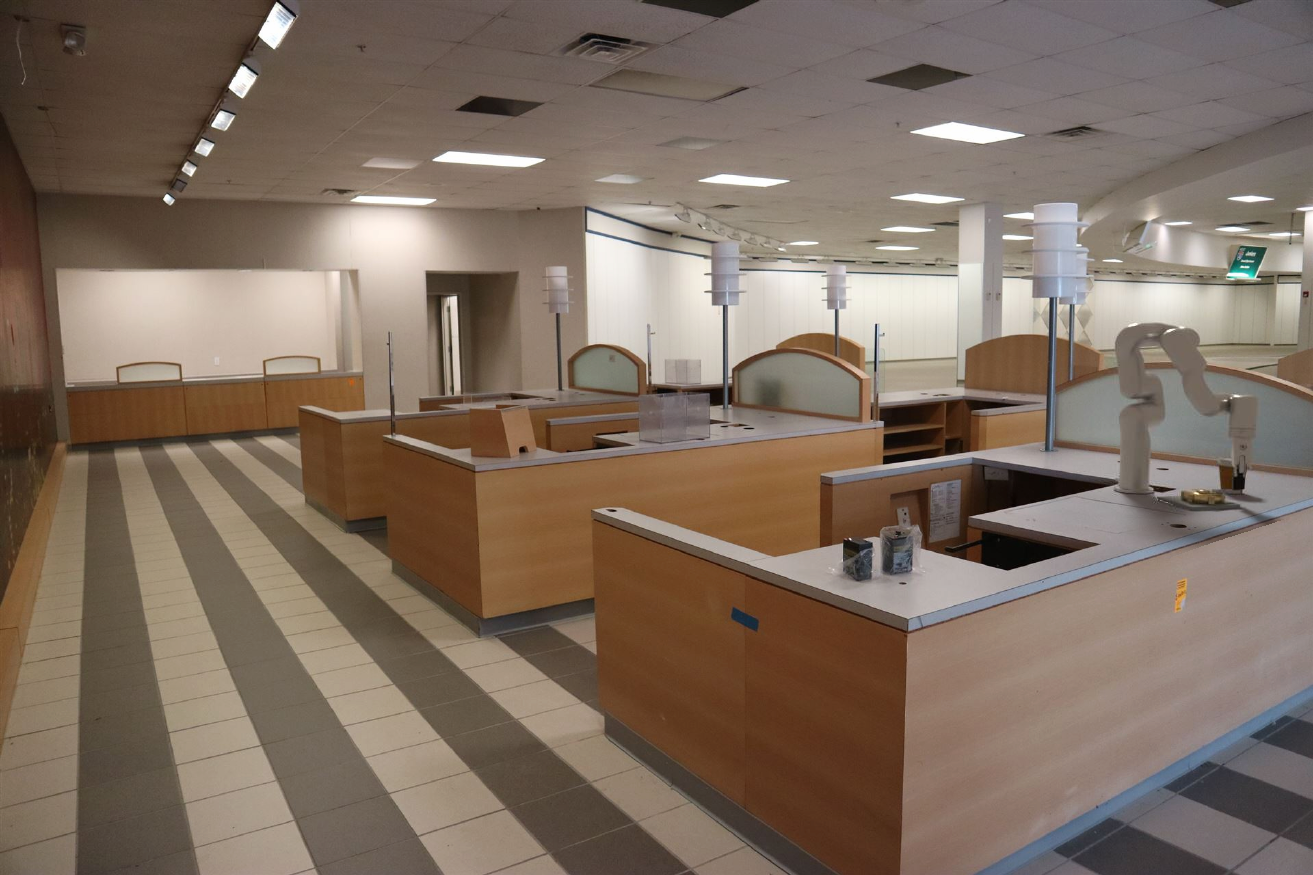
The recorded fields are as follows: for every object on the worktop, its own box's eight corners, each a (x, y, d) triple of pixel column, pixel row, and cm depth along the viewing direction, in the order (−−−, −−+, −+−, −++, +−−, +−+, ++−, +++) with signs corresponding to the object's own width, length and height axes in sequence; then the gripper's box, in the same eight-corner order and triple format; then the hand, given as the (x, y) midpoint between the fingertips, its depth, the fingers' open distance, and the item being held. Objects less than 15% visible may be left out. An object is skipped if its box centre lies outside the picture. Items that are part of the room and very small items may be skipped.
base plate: (1156, 500, 305) (1157, 496, 305) (1203, 498, 307) (1203, 494, 307) (1191, 510, 289) (1191, 506, 288) (1240, 508, 290) (1240, 504, 290)
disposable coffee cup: (1215, 489, 321) (1217, 456, 320) (1247, 491, 316) (1249, 457, 315) (1215, 493, 313) (1217, 460, 312) (1248, 496, 308) (1250, 461, 307)
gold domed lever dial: (1192, 504, 291) (1193, 478, 290) (1175, 496, 304) (1177, 471, 302) (1248, 504, 289) (1249, 478, 288) (1229, 496, 301) (1230, 471, 300)
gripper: (1258, 436, 281) (1255, 493, 283) (1253, 430, 294) (1249, 485, 296) (1230, 435, 284) (1227, 492, 287) (1226, 429, 297) (1222, 484, 300)
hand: (1238, 488), depth 291 cm, fingers closed
